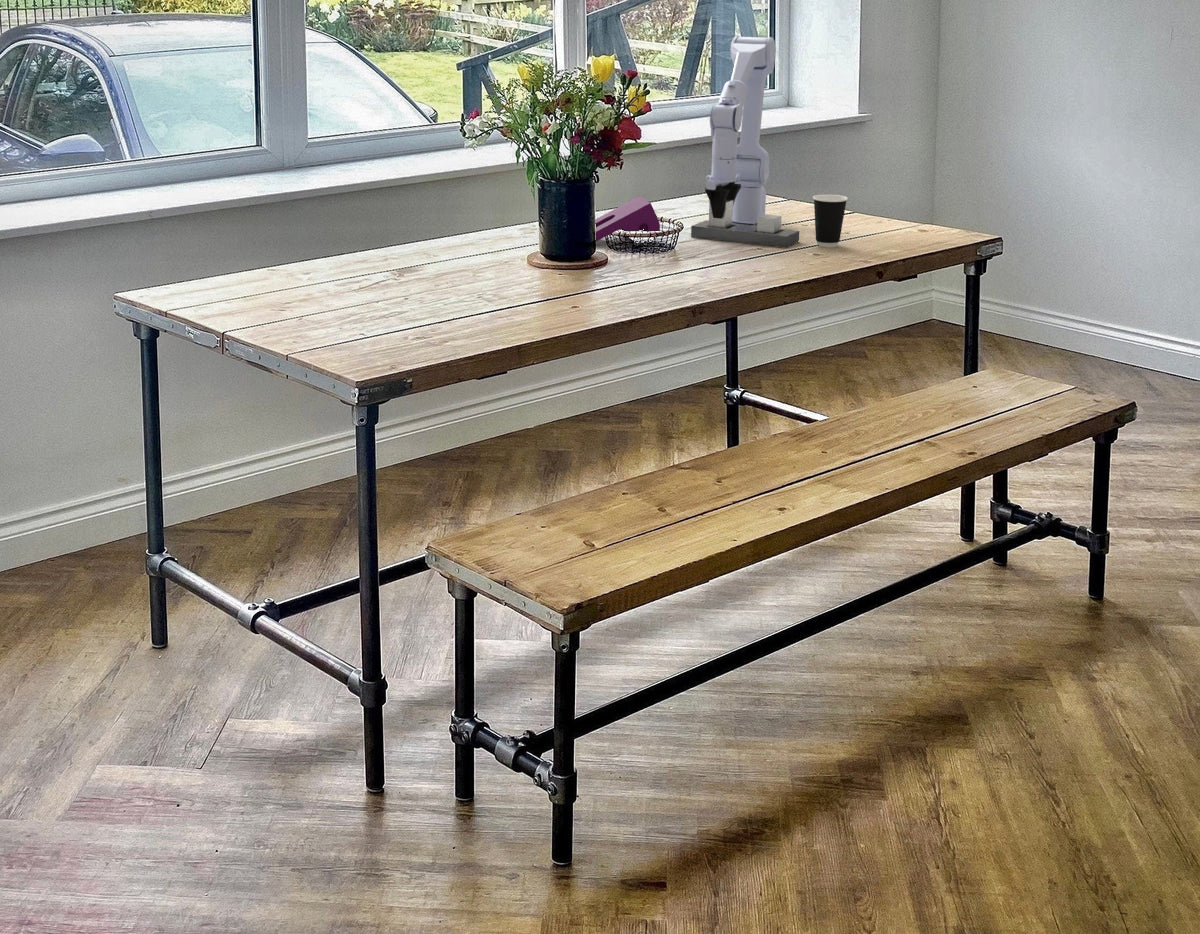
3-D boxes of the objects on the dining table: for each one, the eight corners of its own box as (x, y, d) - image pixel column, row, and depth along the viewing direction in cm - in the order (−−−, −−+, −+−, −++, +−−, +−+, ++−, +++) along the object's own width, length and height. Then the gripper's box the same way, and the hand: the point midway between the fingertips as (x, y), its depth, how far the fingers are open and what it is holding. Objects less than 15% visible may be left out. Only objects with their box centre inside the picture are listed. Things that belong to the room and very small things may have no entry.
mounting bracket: (596, 271, 330) (665, 235, 331) (581, 239, 326) (650, 202, 327) (587, 262, 338) (654, 227, 339) (572, 231, 335) (639, 195, 336)
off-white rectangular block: (763, 239, 336) (764, 214, 334) (780, 241, 334) (781, 216, 332) (756, 243, 333) (757, 217, 330) (773, 244, 331) (774, 218, 328)
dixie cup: (851, 246, 330) (855, 198, 326) (826, 250, 325) (829, 201, 322) (828, 240, 336) (831, 193, 332) (802, 243, 332) (805, 196, 328)
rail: (705, 231, 345) (705, 220, 344) (798, 241, 334) (799, 230, 333) (691, 236, 338) (691, 225, 337) (785, 247, 327) (786, 236, 326)
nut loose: (716, 223, 341) (717, 198, 339) (732, 225, 339) (733, 200, 337) (708, 226, 337) (709, 201, 335) (724, 228, 335) (725, 202, 333)
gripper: (721, 152, 340) (719, 209, 345) (695, 160, 328) (693, 219, 333) (749, 155, 337) (746, 212, 342) (723, 162, 325) (721, 222, 330)
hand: (722, 216), depth 337 cm, fingers closed on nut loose, 4 cm apart
